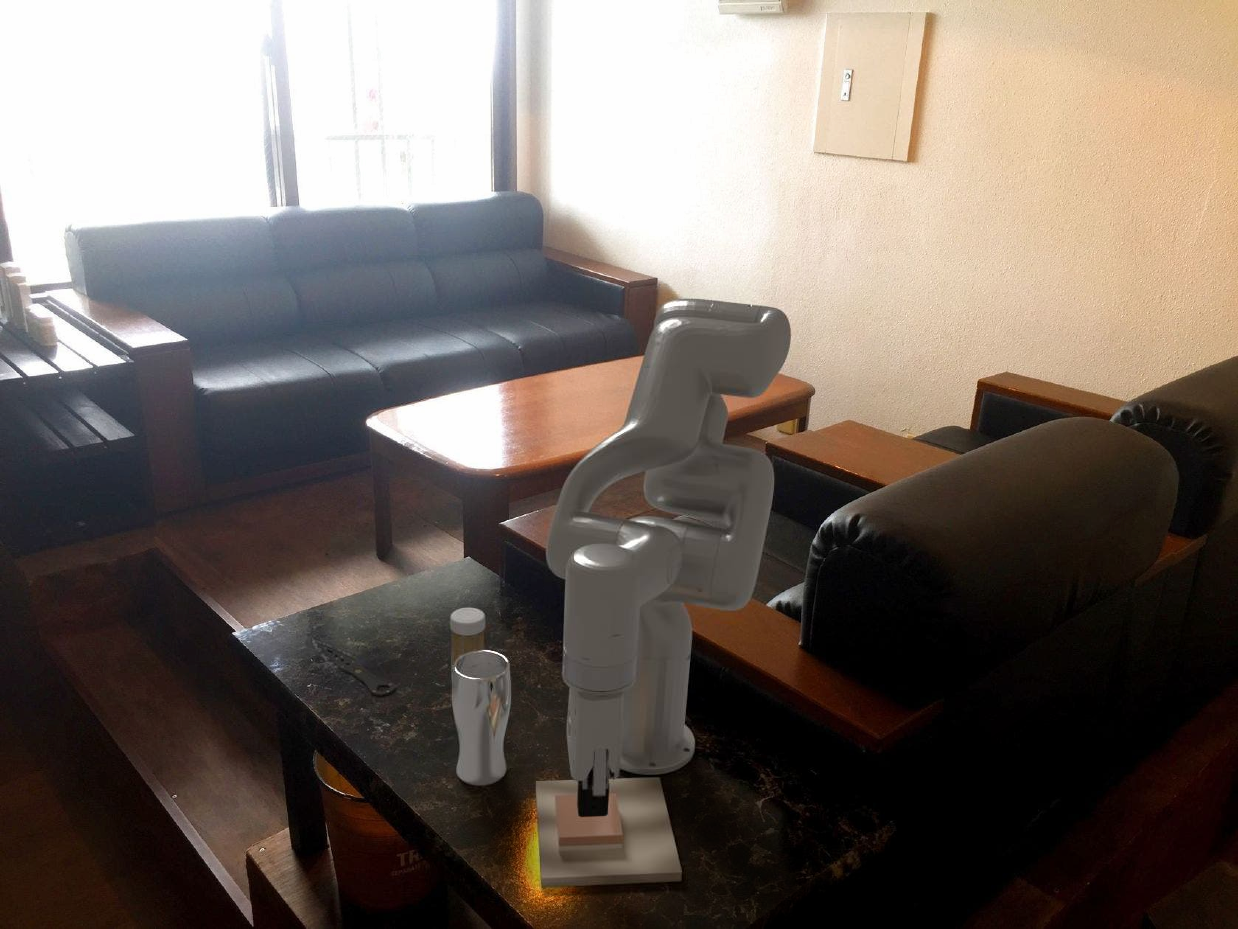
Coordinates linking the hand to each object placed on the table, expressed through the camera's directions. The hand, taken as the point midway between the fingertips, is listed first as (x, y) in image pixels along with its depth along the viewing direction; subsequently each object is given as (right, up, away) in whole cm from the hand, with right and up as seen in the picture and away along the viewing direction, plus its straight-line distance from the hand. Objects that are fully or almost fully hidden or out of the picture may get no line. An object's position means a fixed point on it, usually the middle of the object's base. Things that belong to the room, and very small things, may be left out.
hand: (592, 811), depth 110 cm
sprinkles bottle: (-18, +5, +29) cm, 35 cm away
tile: (0, -4, +1) cm, 4 cm away
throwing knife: (-36, +8, +36) cm, 52 cm away
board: (+1, -4, +6) cm, 8 cm away
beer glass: (-14, 0, +16) cm, 21 cm away
